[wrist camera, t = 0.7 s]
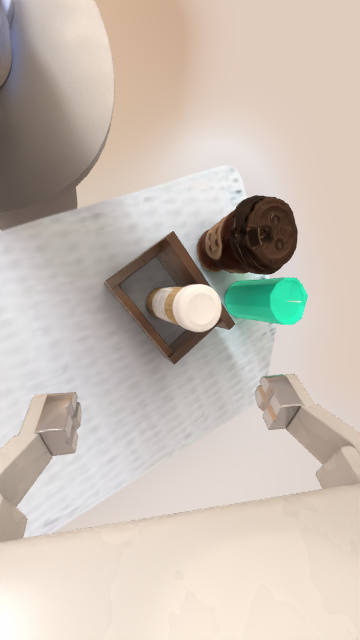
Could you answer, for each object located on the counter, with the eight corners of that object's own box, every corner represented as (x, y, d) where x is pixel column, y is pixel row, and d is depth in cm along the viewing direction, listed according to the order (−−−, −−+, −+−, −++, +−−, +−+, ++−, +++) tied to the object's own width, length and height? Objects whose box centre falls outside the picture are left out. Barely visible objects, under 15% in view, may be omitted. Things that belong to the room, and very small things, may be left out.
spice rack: (103, 282, 32) (108, 279, 26) (156, 242, 34) (173, 230, 28) (166, 358, 36) (184, 372, 30) (210, 318, 38) (235, 324, 32)
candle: (239, 325, 40) (297, 337, 29) (217, 299, 38) (271, 301, 27) (261, 299, 42) (326, 301, 30) (241, 273, 40) (302, 265, 28)
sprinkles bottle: (180, 296, 36) (231, 298, 24) (166, 324, 36) (210, 340, 23) (154, 281, 35) (193, 274, 22) (139, 310, 34) (170, 319, 22)
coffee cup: (179, 263, 36) (227, 248, 24) (199, 211, 36) (257, 170, 24) (226, 287, 39) (289, 285, 27) (244, 239, 39) (315, 215, 27)
